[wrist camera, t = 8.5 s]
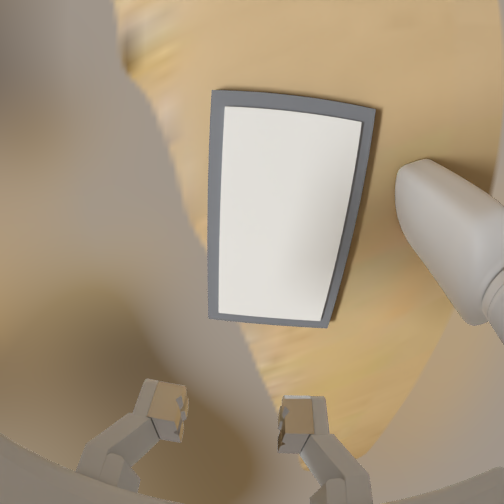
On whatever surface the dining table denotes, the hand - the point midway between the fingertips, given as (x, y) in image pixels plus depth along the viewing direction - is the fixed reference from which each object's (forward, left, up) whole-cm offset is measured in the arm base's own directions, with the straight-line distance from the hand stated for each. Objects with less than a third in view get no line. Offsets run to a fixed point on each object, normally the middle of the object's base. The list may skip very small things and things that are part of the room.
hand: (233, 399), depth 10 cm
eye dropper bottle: (-5, +10, -10) cm, 14 cm away
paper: (-3, +2, -9) cm, 10 cm away
